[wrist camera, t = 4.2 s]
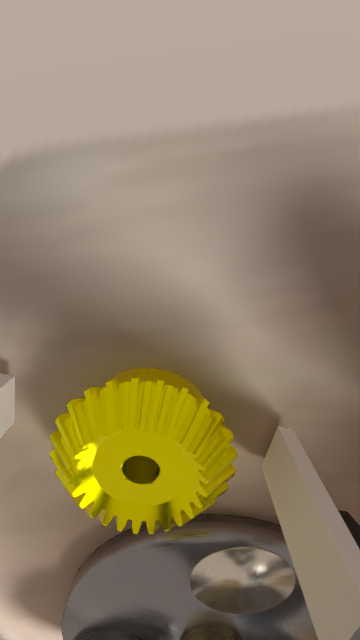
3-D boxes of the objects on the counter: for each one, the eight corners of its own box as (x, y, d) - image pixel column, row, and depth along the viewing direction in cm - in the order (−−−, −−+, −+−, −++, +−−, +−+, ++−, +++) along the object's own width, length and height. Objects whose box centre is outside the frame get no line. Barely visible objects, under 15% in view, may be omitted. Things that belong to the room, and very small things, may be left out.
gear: (245, 457, 14) (199, 327, 12) (265, 532, 10) (204, 367, 8) (113, 490, 15) (47, 377, 13) (90, 569, 11) (-8, 432, 9)
